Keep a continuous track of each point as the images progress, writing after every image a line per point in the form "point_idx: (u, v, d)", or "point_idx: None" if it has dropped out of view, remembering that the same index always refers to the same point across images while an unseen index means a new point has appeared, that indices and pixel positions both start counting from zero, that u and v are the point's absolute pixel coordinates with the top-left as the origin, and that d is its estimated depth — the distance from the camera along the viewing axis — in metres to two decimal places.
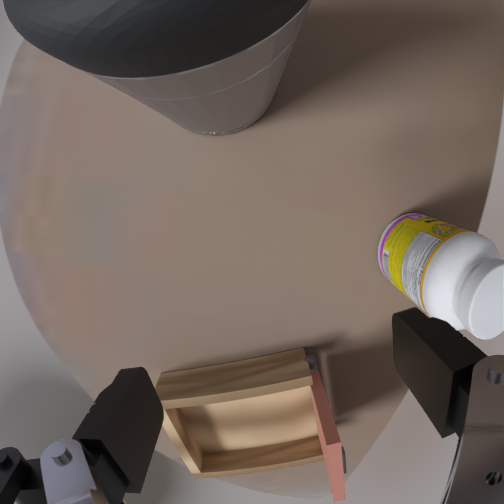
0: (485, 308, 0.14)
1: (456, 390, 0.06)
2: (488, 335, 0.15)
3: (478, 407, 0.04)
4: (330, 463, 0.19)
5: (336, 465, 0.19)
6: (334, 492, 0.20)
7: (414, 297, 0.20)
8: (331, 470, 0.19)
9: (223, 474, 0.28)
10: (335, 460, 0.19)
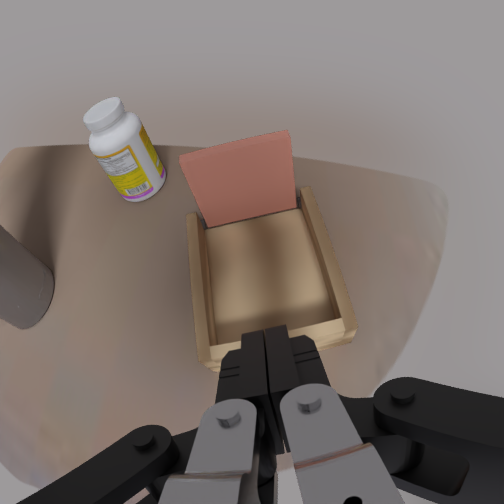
0: (98, 114, 0.29)
1: None
2: (115, 105, 0.29)
3: (300, 441, 0.05)
4: (207, 154, 0.25)
5: (213, 150, 0.25)
6: (267, 140, 0.25)
7: (125, 160, 0.33)
8: (220, 151, 0.25)
9: (341, 288, 0.24)
10: (204, 152, 0.25)
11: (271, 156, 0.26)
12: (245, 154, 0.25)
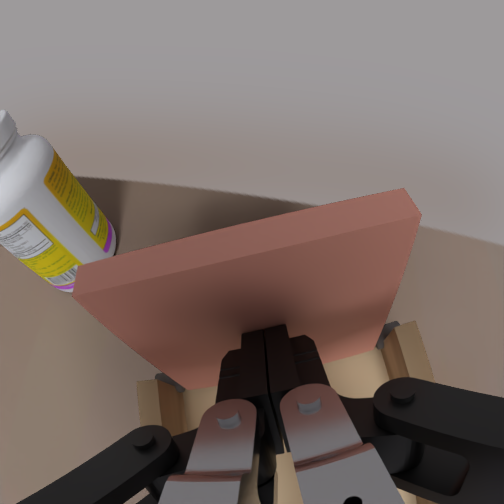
0: None
1: None
2: None
3: (300, 441, 0.05)
4: (150, 275, 0.07)
5: (168, 256, 0.08)
6: (351, 227, 0.07)
7: (25, 235, 0.15)
8: (190, 265, 0.07)
9: None
10: (142, 264, 0.08)
11: (353, 270, 0.08)
12: (276, 270, 0.08)
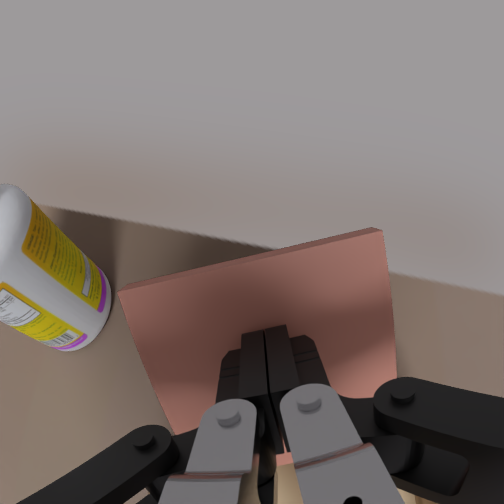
0: None
1: None
2: None
3: (301, 441, 0.05)
4: (181, 277, 0.10)
5: (197, 270, 0.11)
6: (327, 242, 0.10)
7: (8, 308, 0.12)
8: (211, 269, 0.10)
9: None
10: (177, 275, 0.11)
11: (341, 291, 0.10)
12: (275, 281, 0.10)
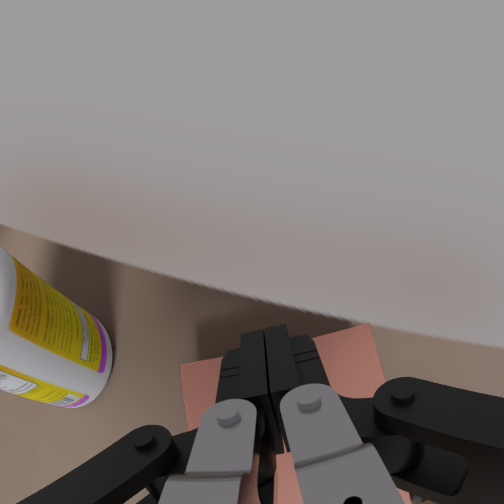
0: None
1: None
2: None
3: (300, 441, 0.05)
4: None
5: None
6: (330, 334, 0.14)
7: (3, 383, 0.10)
8: None
9: None
10: None
11: (342, 366, 0.13)
12: None
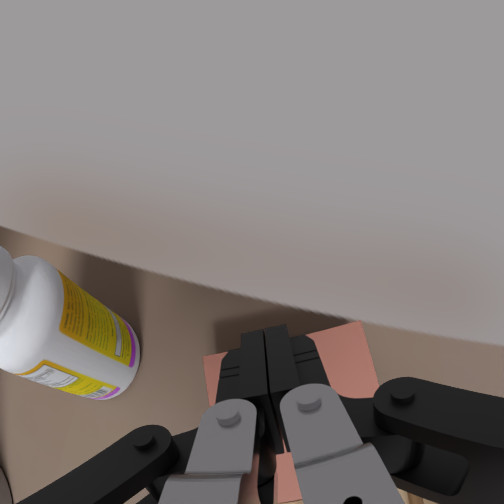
0: None
1: None
2: None
3: (300, 441, 0.05)
4: None
5: None
6: (328, 329, 0.17)
7: (48, 377, 0.14)
8: None
9: None
10: None
11: (338, 356, 0.16)
12: None
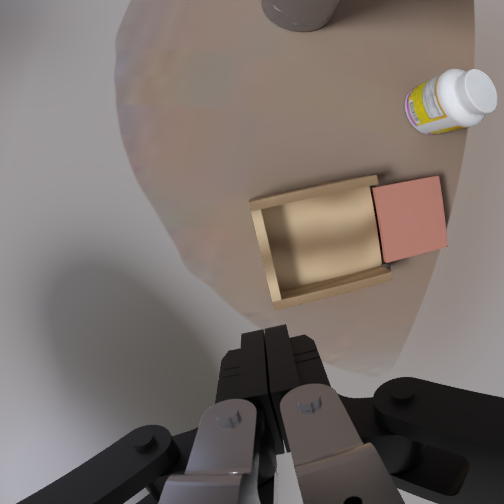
0: (474, 90, 0.22)
1: None
2: (483, 109, 0.23)
3: (300, 441, 0.05)
4: (441, 194, 0.34)
5: None
6: (445, 232, 0.35)
7: (434, 109, 0.28)
8: (442, 202, 0.35)
9: (303, 300, 0.35)
10: None
11: (436, 236, 0.35)
12: (439, 218, 0.35)
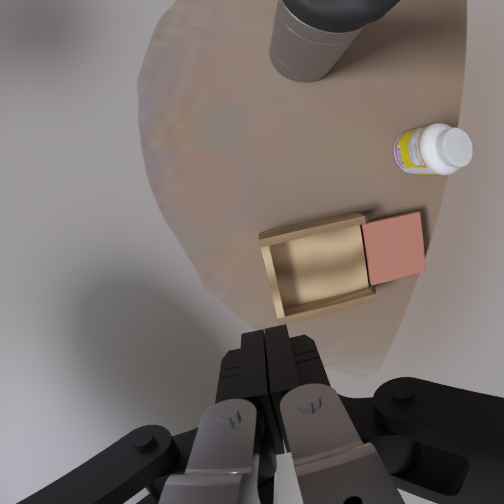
0: (452, 147, 0.30)
1: None
2: (458, 164, 0.30)
3: (301, 441, 0.05)
4: (421, 227, 0.42)
5: None
6: (424, 259, 0.43)
7: (417, 159, 0.36)
8: (422, 234, 0.42)
9: (302, 317, 0.43)
10: None
11: (415, 262, 0.43)
12: (419, 248, 0.43)
